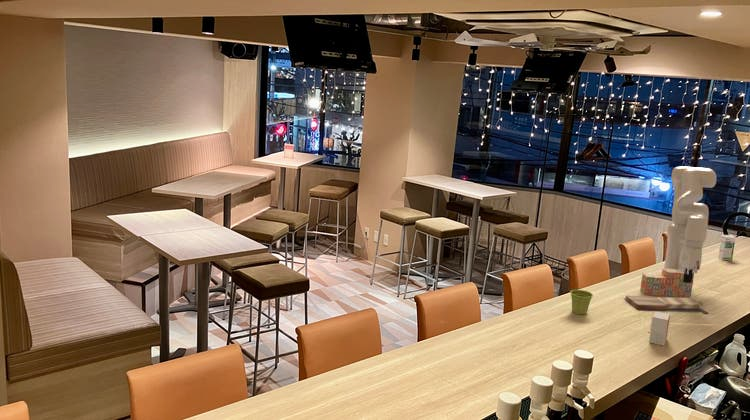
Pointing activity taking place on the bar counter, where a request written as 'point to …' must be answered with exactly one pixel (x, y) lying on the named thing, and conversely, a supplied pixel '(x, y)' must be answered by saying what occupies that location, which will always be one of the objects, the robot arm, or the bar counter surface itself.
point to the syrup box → (726, 247)
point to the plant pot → (580, 301)
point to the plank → (679, 303)
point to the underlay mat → (676, 310)
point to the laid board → (646, 302)
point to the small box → (659, 328)
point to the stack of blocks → (666, 284)
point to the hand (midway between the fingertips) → (687, 282)
